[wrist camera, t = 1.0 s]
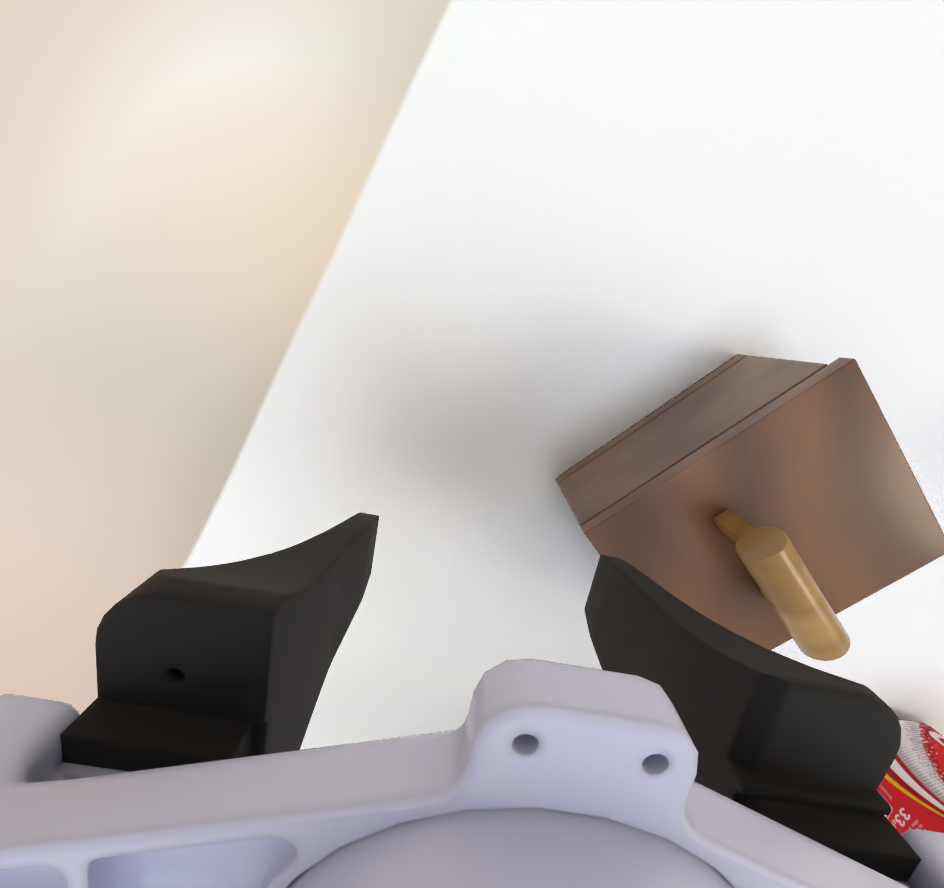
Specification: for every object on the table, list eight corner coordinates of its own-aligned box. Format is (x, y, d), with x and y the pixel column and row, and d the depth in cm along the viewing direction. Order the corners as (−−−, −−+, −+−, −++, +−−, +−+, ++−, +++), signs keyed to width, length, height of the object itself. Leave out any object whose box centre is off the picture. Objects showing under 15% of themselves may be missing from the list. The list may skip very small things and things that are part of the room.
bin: (738, 353, 22) (828, 363, 16) (819, 495, 24) (925, 546, 18) (554, 478, 24) (579, 525, 18) (644, 600, 26) (692, 676, 20)
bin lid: (839, 356, 16) (957, 367, 12) (935, 542, 18) (1062, 602, 14) (580, 526, 18) (609, 582, 14) (692, 677, 20) (746, 763, 16)
